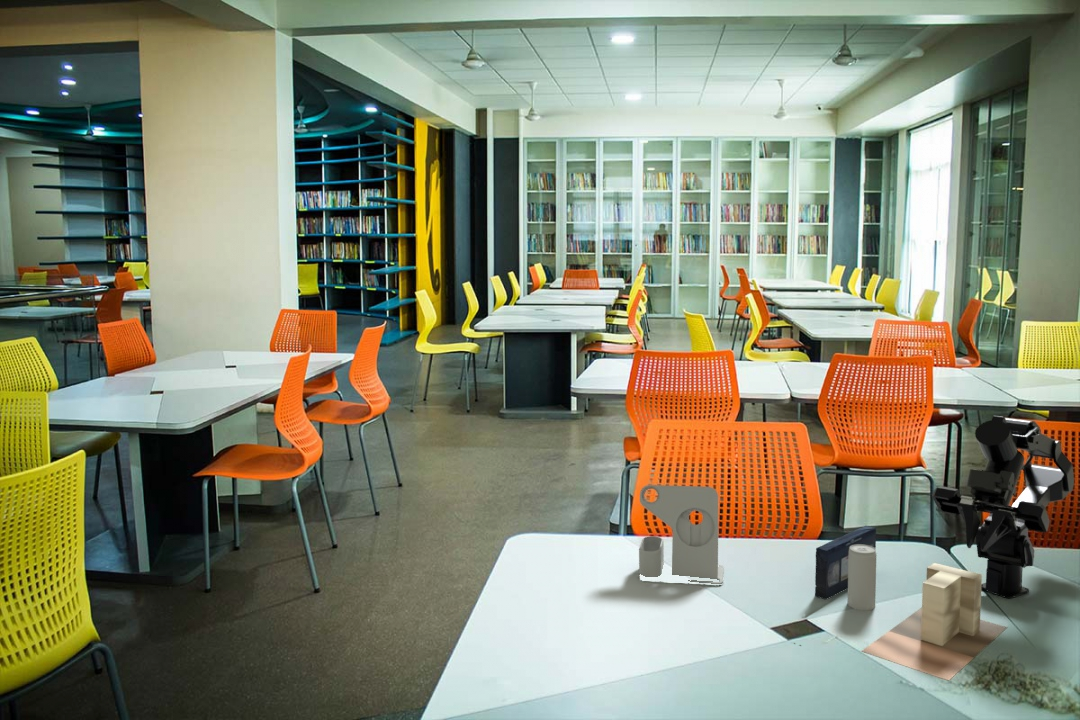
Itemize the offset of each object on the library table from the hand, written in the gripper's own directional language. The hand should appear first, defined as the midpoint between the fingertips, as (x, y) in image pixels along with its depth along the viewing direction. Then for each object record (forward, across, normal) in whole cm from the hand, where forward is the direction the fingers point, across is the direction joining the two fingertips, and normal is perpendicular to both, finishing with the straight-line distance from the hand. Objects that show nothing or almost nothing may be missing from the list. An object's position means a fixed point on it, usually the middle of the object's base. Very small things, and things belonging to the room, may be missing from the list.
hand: (975, 548), depth 156 cm
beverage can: (+17, -15, +1) cm, 23 cm away
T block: (+17, 0, -1) cm, 17 cm away
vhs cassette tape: (+11, -23, +8) cm, 27 cm away
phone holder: (+23, -51, -5) cm, 56 cm away
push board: (+20, 0, -2) cm, 20 cm away
